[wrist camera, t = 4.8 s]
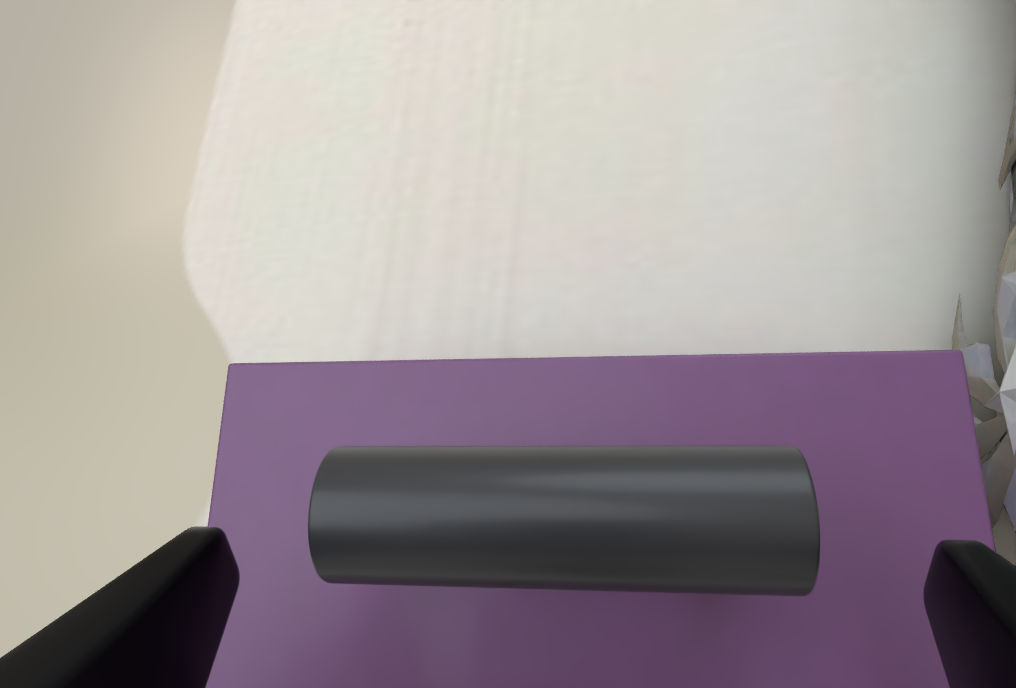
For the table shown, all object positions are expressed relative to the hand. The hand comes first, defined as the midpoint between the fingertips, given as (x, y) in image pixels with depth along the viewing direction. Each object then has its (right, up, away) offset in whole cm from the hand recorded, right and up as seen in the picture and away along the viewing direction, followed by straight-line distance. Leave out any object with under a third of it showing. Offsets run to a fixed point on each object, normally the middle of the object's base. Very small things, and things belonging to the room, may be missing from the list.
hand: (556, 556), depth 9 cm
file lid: (+1, -3, +3) cm, 4 cm away
